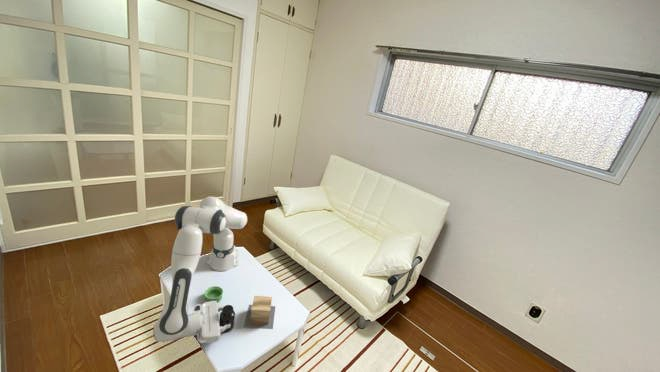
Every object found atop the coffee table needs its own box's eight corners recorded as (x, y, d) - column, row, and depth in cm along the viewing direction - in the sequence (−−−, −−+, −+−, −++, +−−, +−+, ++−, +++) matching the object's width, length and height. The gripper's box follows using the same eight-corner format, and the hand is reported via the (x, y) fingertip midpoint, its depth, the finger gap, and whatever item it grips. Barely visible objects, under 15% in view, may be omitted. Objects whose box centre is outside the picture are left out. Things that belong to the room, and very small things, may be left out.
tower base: (253, 308, 140) (253, 302, 138) (270, 309, 141) (271, 303, 140) (249, 323, 132) (250, 316, 130) (268, 324, 133) (269, 317, 131)
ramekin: (203, 294, 143) (203, 288, 142) (221, 290, 148) (221, 284, 146) (205, 307, 136) (205, 300, 134) (223, 302, 141) (224, 296, 139)
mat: (249, 305, 142) (249, 304, 142) (275, 306, 144) (275, 306, 144) (243, 328, 129) (243, 327, 129) (272, 329, 131) (272, 328, 131)
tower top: (253, 302, 138) (254, 295, 137) (271, 303, 140) (272, 296, 138) (250, 316, 130) (251, 309, 128) (269, 317, 131) (270, 311, 130)
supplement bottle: (219, 334, 124) (220, 316, 119) (218, 322, 129) (219, 304, 125) (234, 331, 126) (236, 313, 122) (233, 319, 132) (234, 301, 128)
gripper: (196, 339, 110) (232, 330, 116) (196, 301, 127) (227, 296, 133) (196, 349, 112) (231, 340, 119) (196, 311, 129) (226, 305, 135)
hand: (229, 316), depth 126 cm, fingers open, 8 cm apart
